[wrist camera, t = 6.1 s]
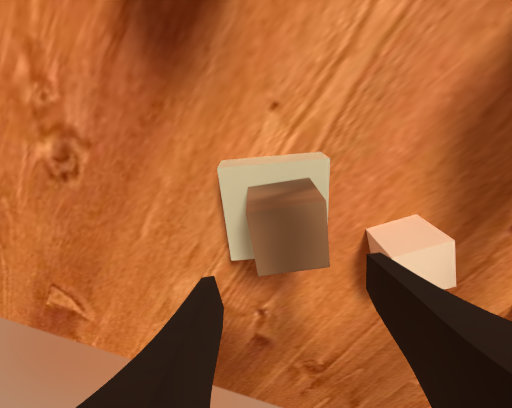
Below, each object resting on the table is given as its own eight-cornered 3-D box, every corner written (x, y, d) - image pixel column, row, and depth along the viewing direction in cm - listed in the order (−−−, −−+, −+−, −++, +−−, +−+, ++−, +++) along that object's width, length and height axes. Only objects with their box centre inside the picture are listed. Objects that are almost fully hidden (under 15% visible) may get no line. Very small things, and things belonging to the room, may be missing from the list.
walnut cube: (309, 177, 17) (326, 200, 13) (313, 231, 19) (329, 267, 15) (248, 187, 17) (245, 212, 13) (257, 238, 19) (258, 276, 15)
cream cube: (415, 213, 21) (454, 240, 17) (419, 253, 23) (456, 286, 19) (365, 228, 22) (391, 257, 18) (372, 266, 23) (398, 301, 19)
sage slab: (319, 150, 19) (330, 158, 17) (317, 235, 22) (326, 253, 20) (222, 159, 20) (217, 168, 17) (234, 241, 23) (231, 260, 20)
